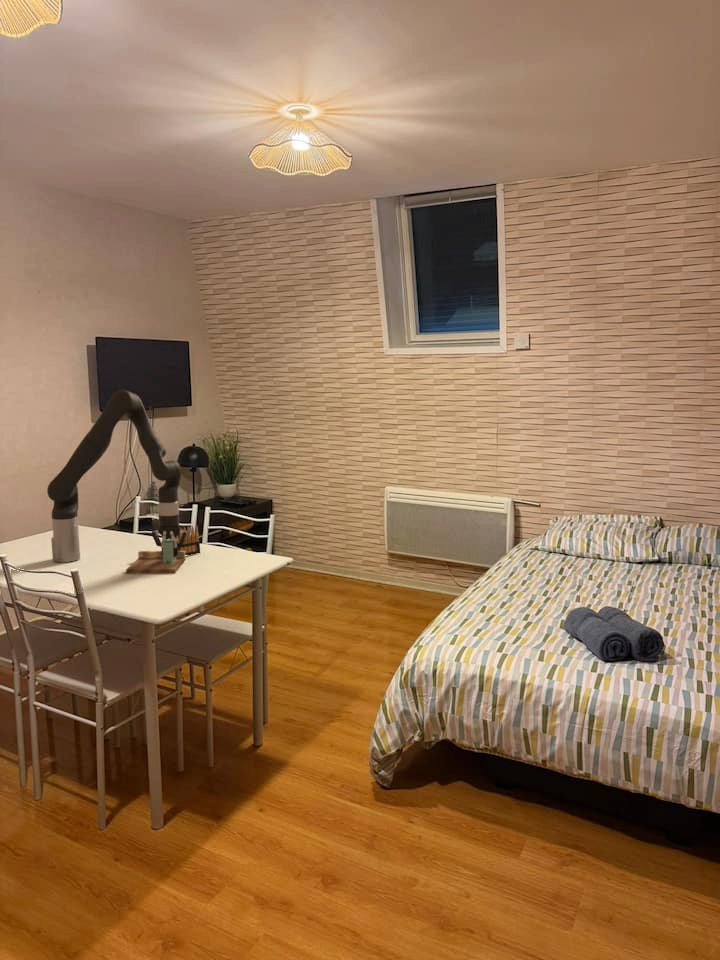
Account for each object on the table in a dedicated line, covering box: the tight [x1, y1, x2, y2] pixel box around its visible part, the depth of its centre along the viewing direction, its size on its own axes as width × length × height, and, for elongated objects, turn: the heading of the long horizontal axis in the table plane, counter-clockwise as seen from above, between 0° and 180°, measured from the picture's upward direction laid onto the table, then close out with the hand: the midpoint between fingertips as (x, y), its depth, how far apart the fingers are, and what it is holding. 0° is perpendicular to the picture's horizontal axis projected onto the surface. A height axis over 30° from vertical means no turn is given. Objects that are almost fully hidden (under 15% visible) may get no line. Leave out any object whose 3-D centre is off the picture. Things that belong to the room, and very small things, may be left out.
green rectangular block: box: [163, 539, 176, 563], centre depth 259 cm, size 4×7×8 cm, turn 2°
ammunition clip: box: [177, 524, 201, 556], centre depth 273 cm, size 11×2×12 cm, turn 132°
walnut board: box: [125, 550, 186, 574], centre depth 257 cm, size 18×17×4 cm
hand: (170, 556), depth 260 cm, fingers open, 3 cm apart
